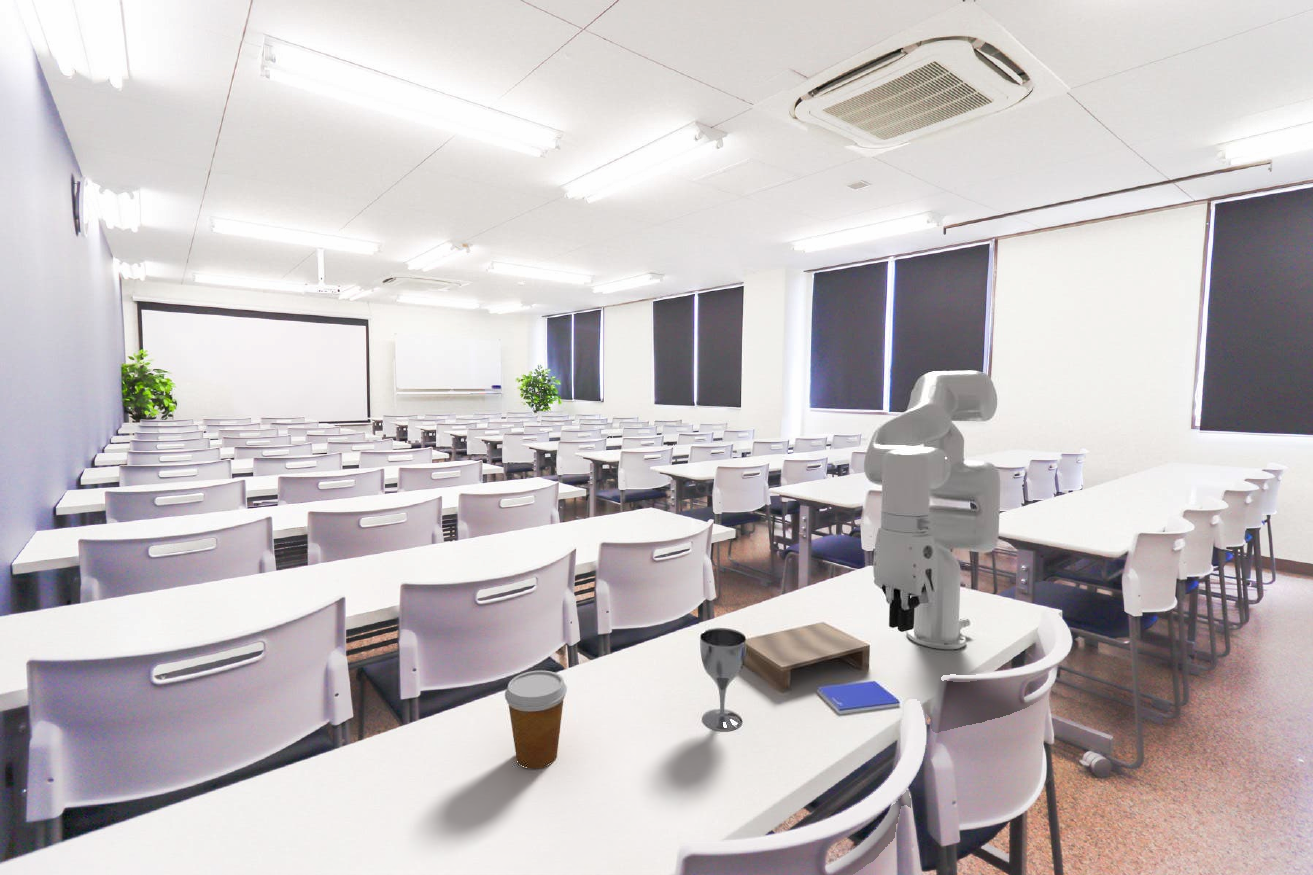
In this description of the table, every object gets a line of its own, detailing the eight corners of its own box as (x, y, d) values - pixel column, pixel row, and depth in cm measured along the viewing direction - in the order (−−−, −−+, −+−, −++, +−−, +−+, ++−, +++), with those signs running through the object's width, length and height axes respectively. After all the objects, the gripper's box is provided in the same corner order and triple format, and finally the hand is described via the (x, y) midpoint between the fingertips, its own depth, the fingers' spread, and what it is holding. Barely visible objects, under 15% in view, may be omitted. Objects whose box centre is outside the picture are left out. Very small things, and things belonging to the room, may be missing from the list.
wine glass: (715, 737, 97) (716, 650, 96) (691, 714, 104) (691, 632, 103) (754, 725, 101) (755, 641, 100) (728, 703, 108) (728, 624, 107)
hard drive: (839, 708, 105) (900, 700, 107) (816, 686, 112) (873, 679, 115) (839, 716, 105) (899, 708, 108) (816, 694, 113) (873, 687, 115)
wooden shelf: (822, 642, 135) (823, 621, 135) (869, 668, 122) (869, 644, 122) (740, 662, 125) (740, 640, 124) (781, 692, 112) (782, 667, 112)
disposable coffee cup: (538, 784, 85) (537, 705, 85) (492, 762, 91) (491, 687, 90) (579, 751, 94) (579, 678, 93) (536, 732, 99) (535, 663, 98)
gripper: (960, 529, 94) (956, 640, 95) (884, 512, 108) (881, 610, 109) (928, 534, 91) (924, 649, 92) (854, 516, 105) (851, 616, 106)
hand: (901, 627), depth 101 cm, fingers closed
